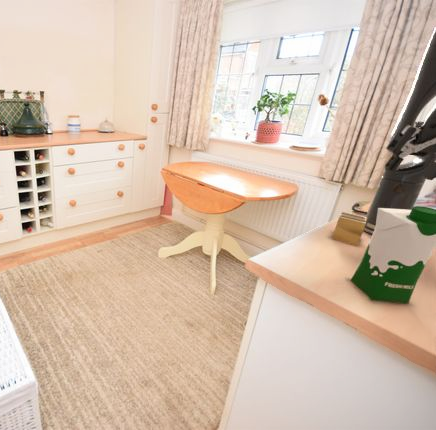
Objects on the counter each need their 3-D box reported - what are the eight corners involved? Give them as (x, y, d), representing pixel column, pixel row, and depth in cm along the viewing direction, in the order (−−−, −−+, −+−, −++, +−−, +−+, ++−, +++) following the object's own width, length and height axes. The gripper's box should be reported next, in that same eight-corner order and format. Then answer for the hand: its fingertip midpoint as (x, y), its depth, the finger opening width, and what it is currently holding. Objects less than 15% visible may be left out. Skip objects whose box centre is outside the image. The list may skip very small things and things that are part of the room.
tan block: (334, 232, 90) (342, 211, 88) (359, 239, 87) (368, 217, 84) (331, 238, 86) (339, 216, 84) (357, 246, 83) (366, 223, 80)
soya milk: (370, 303, 60) (412, 213, 52) (343, 277, 68) (376, 196, 60) (417, 307, 59) (466, 216, 51) (383, 280, 67) (421, 199, 59)
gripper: (486, 105, 61) (428, 174, 70) (414, 93, 62) (367, 162, 71) (520, 114, 55) (452, 188, 64) (440, 101, 56) (385, 175, 65)
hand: (407, 174), depth 68 cm, fingers open, 8 cm apart
